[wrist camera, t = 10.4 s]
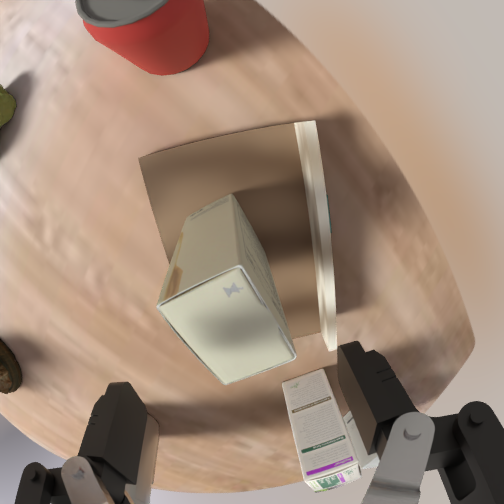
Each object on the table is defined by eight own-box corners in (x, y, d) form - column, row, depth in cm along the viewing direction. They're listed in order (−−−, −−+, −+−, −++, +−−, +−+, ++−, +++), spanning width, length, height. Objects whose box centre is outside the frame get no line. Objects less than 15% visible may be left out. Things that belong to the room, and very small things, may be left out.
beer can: (169, 91, 20) (118, 60, 9) (118, 51, 18) (45, 7, 7) (226, 37, 19) (226, -34, 8) (172, -2, 17) (138, -76, 6)
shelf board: (325, 318, 30) (339, 348, 26) (204, 343, 30) (202, 376, 26) (301, 121, 22) (319, 119, 18) (145, 155, 22) (125, 162, 18)
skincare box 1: (184, 216, 23) (146, 301, 12) (233, 190, 22) (238, 256, 11) (223, 279, 25) (222, 390, 14) (269, 257, 25) (300, 361, 14)
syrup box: (279, 381, 34) (300, 483, 21) (324, 365, 33) (360, 464, 20) (292, 404, 36) (312, 495, 23) (333, 389, 36) (364, 478, 22)
